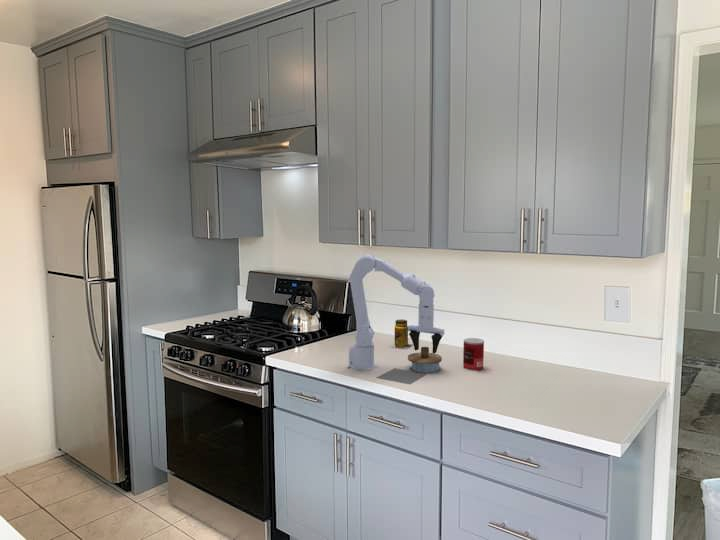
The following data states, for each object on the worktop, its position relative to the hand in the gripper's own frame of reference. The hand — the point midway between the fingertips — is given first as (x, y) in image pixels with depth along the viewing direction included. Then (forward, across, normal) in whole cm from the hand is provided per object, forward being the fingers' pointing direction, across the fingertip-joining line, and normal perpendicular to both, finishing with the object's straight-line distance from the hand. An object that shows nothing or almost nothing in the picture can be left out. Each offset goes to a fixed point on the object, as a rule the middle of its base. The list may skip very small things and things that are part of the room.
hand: (425, 351), depth 211 cm
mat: (+7, -3, -14) cm, 16 cm away
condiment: (+7, -24, +27) cm, 37 cm away
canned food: (+7, +15, +12) cm, 20 cm away
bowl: (+7, 0, 0) cm, 7 cm away
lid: (+3, 0, -1) cm, 3 cm away
